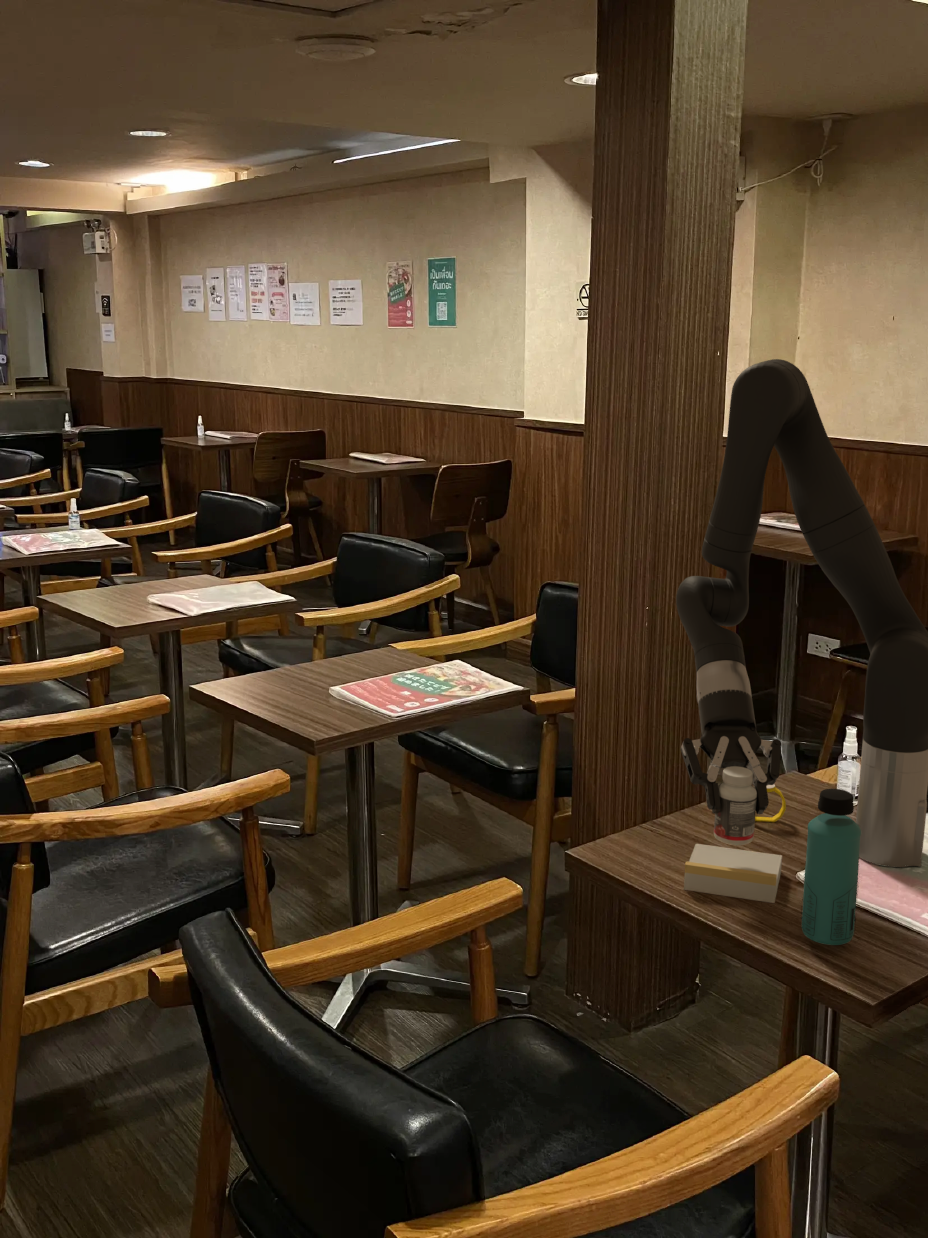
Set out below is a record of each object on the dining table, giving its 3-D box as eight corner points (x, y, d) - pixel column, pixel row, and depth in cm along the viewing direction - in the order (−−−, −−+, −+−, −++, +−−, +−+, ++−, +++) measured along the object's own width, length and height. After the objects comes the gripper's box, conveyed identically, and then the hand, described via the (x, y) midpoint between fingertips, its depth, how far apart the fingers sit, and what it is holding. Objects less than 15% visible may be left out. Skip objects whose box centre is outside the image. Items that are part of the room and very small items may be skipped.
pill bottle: (708, 830, 166) (712, 764, 164) (745, 829, 167) (750, 763, 165) (720, 847, 161) (725, 779, 159) (759, 846, 162) (764, 778, 159)
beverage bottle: (856, 960, 145) (870, 805, 140) (799, 954, 146) (811, 800, 141) (850, 934, 151) (863, 785, 146) (796, 928, 152) (807, 780, 147)
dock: (780, 872, 168) (782, 847, 167) (774, 903, 159) (776, 877, 158) (695, 859, 172) (696, 835, 171) (683, 889, 163) (685, 864, 162)
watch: (746, 825, 185) (746, 788, 183) (744, 818, 187) (744, 782, 186) (786, 824, 184) (786, 787, 183) (784, 817, 187) (783, 781, 185)
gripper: (679, 687, 166) (691, 801, 158) (781, 688, 167) (799, 801, 158) (669, 711, 173) (681, 822, 164) (768, 712, 173) (784, 822, 164)
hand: (738, 811), depth 161 cm, fingers closed on pill bottle, 5 cm apart
